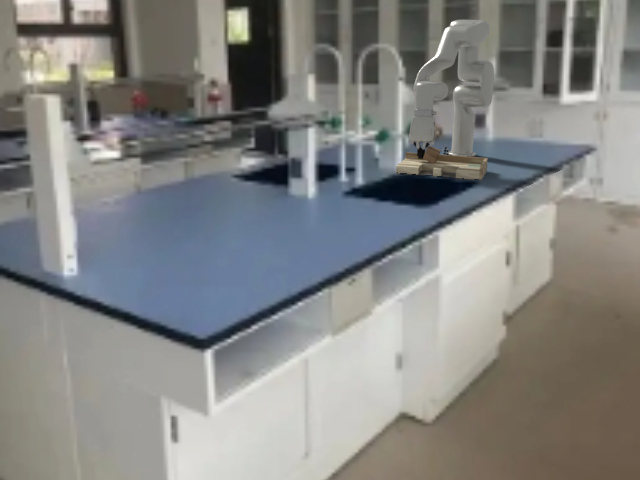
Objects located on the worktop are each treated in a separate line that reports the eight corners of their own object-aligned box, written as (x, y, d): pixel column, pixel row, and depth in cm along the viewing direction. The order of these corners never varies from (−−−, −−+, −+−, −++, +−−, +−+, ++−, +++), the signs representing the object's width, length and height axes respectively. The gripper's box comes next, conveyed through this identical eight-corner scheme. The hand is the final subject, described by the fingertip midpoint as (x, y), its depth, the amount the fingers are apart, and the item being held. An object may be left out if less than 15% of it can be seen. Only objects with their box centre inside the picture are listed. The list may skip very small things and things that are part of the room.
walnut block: (425, 156, 293) (429, 145, 291) (436, 161, 292) (440, 150, 290) (422, 158, 288) (427, 147, 286) (433, 163, 287) (438, 152, 285)
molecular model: (477, 166, 299) (478, 146, 296) (442, 165, 299) (443, 146, 297) (474, 163, 305) (476, 144, 302) (440, 163, 305) (441, 144, 303)
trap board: (405, 165, 299) (406, 152, 298) (486, 171, 289) (487, 158, 287) (395, 173, 283) (396, 159, 281) (481, 180, 272) (482, 166, 271)
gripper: (443, 113, 287) (440, 158, 292) (407, 111, 291) (405, 155, 297) (440, 115, 280) (437, 161, 285) (403, 113, 284) (401, 158, 290)
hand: (420, 158), depth 291 cm, fingers closed
